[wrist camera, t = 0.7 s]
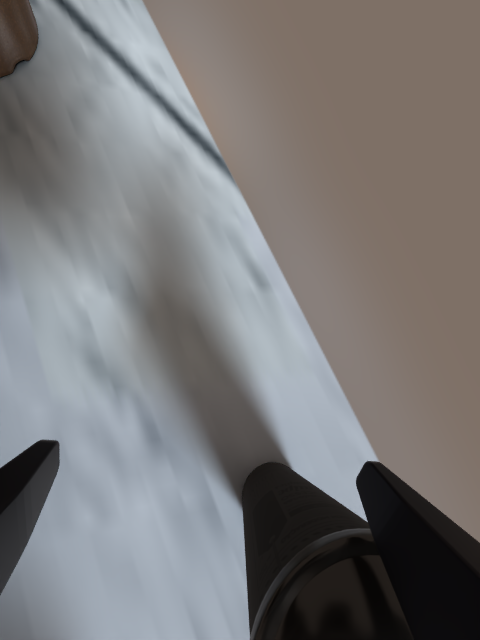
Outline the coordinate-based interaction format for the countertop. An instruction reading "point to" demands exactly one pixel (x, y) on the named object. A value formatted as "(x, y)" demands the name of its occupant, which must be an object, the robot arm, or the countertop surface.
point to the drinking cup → (312, 565)
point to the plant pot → (16, 34)
